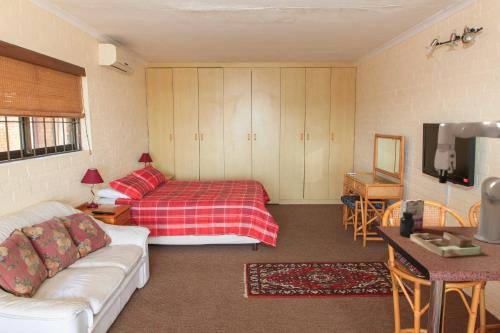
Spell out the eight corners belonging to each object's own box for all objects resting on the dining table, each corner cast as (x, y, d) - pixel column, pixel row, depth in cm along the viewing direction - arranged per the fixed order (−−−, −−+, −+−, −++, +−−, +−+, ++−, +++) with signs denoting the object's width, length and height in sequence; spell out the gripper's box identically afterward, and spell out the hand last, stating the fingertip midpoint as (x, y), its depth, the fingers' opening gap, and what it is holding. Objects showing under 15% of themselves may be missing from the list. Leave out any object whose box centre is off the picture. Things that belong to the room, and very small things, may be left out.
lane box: (445, 237, 180) (445, 232, 179) (481, 254, 158) (481, 247, 158) (409, 240, 176) (410, 234, 175) (442, 257, 154) (442, 250, 154)
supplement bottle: (415, 237, 179) (416, 214, 178) (400, 236, 181) (402, 213, 179) (411, 233, 186) (413, 211, 184) (397, 232, 187) (399, 210, 186)
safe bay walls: (465, 246, 167) (465, 240, 167) (481, 254, 158) (481, 247, 158) (429, 249, 163) (430, 243, 163) (444, 256, 155) (444, 250, 154)
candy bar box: (416, 227, 198) (418, 198, 195) (422, 229, 193) (424, 200, 191) (398, 228, 195) (400, 199, 192) (405, 231, 190) (407, 201, 188)
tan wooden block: (460, 247, 166) (461, 235, 166) (470, 252, 161) (471, 239, 160) (449, 248, 165) (450, 236, 164) (459, 253, 159) (460, 240, 159)
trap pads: (427, 239, 176) (427, 239, 176) (452, 252, 160) (452, 251, 160) (413, 240, 175) (413, 240, 175) (437, 253, 159) (437, 252, 159)
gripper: (463, 148, 173) (460, 185, 176) (441, 146, 188) (438, 180, 190) (450, 148, 172) (447, 185, 174) (429, 146, 186) (426, 180, 189)
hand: (442, 182), depth 182 cm, fingers closed
